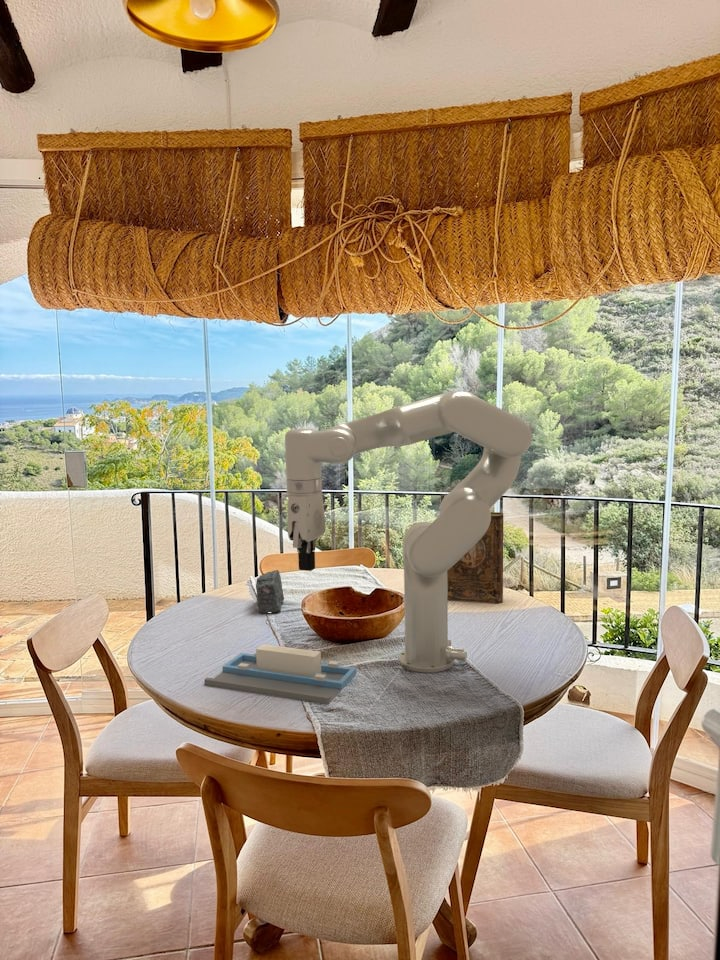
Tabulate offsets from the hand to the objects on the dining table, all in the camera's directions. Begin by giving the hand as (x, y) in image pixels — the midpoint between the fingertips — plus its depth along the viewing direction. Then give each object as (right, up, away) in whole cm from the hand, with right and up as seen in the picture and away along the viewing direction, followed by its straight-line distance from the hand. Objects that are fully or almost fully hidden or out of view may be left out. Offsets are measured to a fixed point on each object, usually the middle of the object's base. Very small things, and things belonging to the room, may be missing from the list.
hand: (307, 569), depth 153 cm
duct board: (-5, -23, -5) cm, 24 cm away
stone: (-14, -17, +44) cm, 49 cm away
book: (+44, -15, +48) cm, 67 cm away
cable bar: (-4, -22, -2) cm, 22 cm away
